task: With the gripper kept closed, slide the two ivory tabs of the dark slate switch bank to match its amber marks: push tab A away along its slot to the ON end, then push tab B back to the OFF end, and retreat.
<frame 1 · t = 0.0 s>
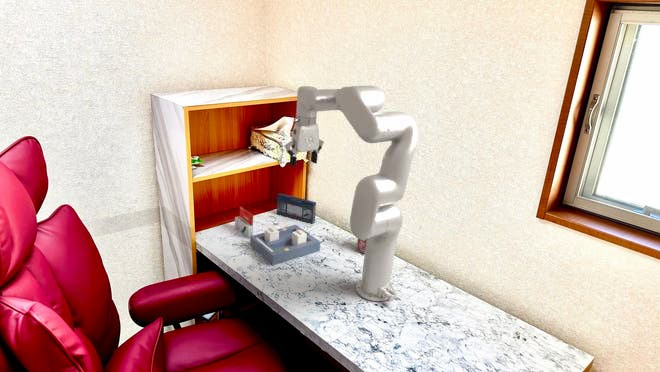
hand: (303, 164, 166), 31 cm above the table, fingers open, 9 cm apart
soda can: (365, 251, 170), on the table
tab A: (299, 238, 165), point 5 cm above the table, slide at 0.0 cm
tab B: (271, 235, 165), point 5 cm above the table, slide at 8.0 cm
ink box: (243, 233, 177), on the table
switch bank: (284, 248, 167), on the table
vhs cassette tape: (295, 219, 193), on the table
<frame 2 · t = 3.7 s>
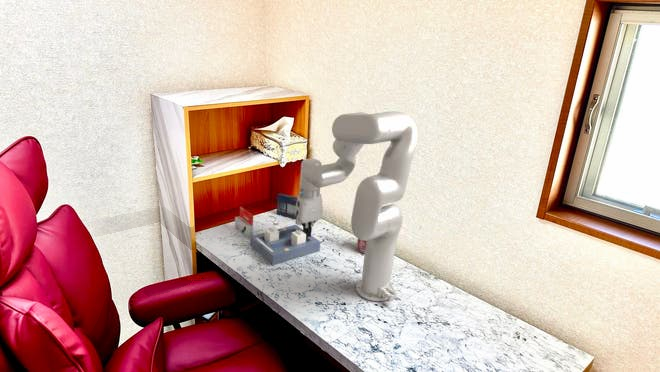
hand: (306, 235, 167), 5 cm above the table, fingers closed
tab A: (298, 238, 165), point 5 cm above the table, slide at 0.3 cm, touching gripper
everything else where it was.
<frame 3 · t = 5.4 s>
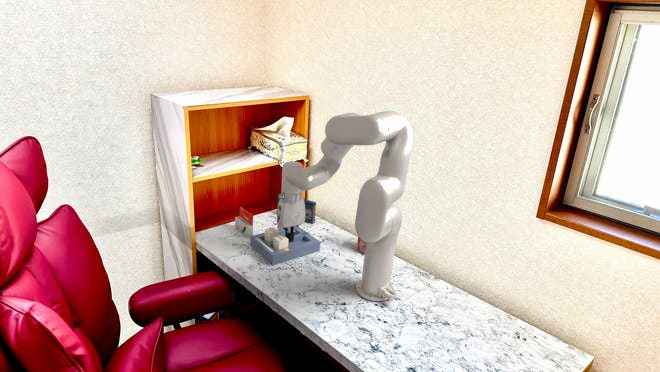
hand: (289, 240, 162), 5 cm above the table, fingers closed
tab A: (280, 243, 160), point 5 cm above the table, slide at 8.2 cm, touching gripper
everything else where it was.
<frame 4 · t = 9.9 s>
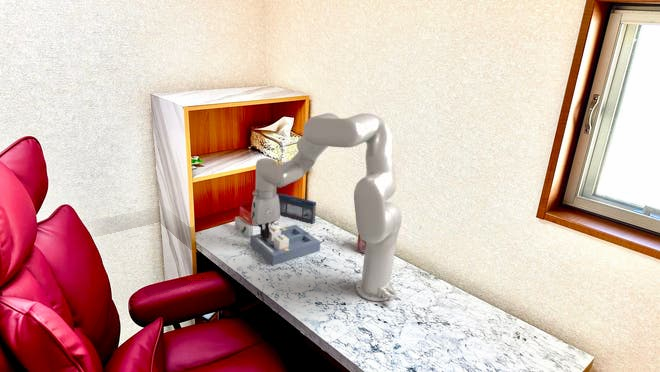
hand: (264, 237, 163), 5 cm above the table, fingers closed
tab A: (281, 243, 160), point 5 cm above the table, slide at 8.0 cm
tab B: (273, 235, 166), point 5 cm above the table, slide at 7.1 cm, touching gripper
everything else where it was.
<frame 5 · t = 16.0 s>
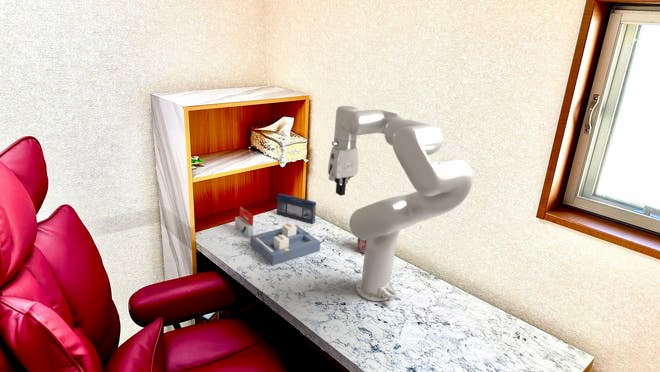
hand: (340, 194, 151), 27 cm above the table, fingers closed
tab B: (289, 230, 170), point 5 cm above the table, slide at 0.0 cm
everything else where it was.
at the end: tab A slide at 8.0 cm; tab B slide at 0.0 cm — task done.
